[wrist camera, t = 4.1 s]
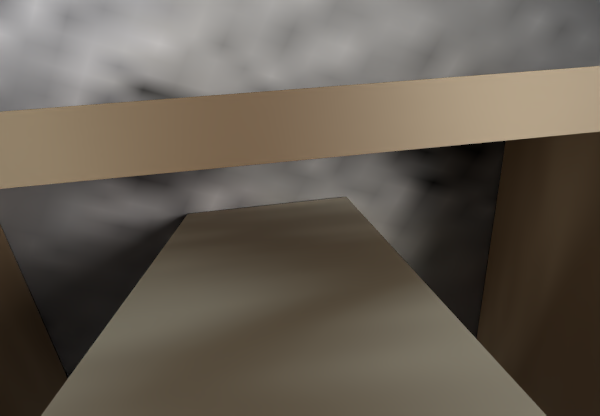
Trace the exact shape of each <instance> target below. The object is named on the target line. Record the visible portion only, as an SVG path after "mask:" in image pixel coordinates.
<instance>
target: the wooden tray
mask: <svg viewBox="0 0 600 416" xmlns="http://www.w3.org/2000/svg"><path fill="white" fill-rule="evenodd" d="M496 141H506V142H505V149H504V156H503V163H502V169H501V176H500V183H499V190H498V197H497V203H496V210H495V217H494V224H493V231H492V237H491V244H490V251H489V258H488V265H487V272H486V278H485V285H484V292H483V299H482V306H481V312H480V319H479V326H478V333H477V340H478V341H479V342H480V343H481V345H482V346H483V347H484V348H485V349H486V350H487V351H488V352H489V353H490V354H491V355H492V357H493V358H494V359H495V360H496V361H497V362H498V363H499V364H500V365H501V366H502V367H503V369H504V370H505V371H506V372H507V373H508V374H509V375H510V376H511V377H512V378H513V379H514V381H515V382H516V383H517V384H518V385H519V386H520V387H521V388H522V389H523V390H524V391H525V393H526V394H527V395H528V396H529V397H530V398H531V399H532V400H533V401H534V402H535V403H536V405H537V406H538V407H539V408H540V409H541V410H542V411H543V412H544V413H545V414H546V416H600V66H593V67H580V68H567V69H554V70H541V71H527V72H514V73H501V74H488V75H475V76H462V77H449V78H436V79H422V80H409V81H396V82H383V83H370V84H357V85H344V86H331V87H317V88H304V89H291V90H278V91H265V92H252V93H239V94H226V95H212V96H199V97H186V98H173V99H160V100H147V101H134V102H121V103H107V104H94V105H81V106H68V107H55V108H42V109H29V110H16V111H2V112H0V189H4V188H15V187H25V186H36V185H46V184H57V183H67V182H78V181H88V180H98V179H109V178H119V177H130V176H140V175H151V174H161V173H172V172H182V171H193V170H203V169H213V168H224V167H234V166H245V165H255V164H266V163H276V162H287V161H297V160H307V159H318V158H328V157H339V156H349V155H360V154H370V153H381V152H391V151H402V150H412V149H422V148H433V147H443V146H454V145H464V144H475V143H485V142H496ZM67 379H68V378H67V376H66V374H65V372H64V369H63V367H62V365H61V362H60V360H59V358H58V356H57V353H56V351H55V349H54V346H53V344H52V342H51V340H50V337H49V335H48V333H47V330H46V328H45V326H44V324H43V321H42V319H41V317H40V314H39V312H38V310H37V307H36V305H35V303H34V301H33V298H32V296H31V294H30V291H29V289H28V287H27V285H26V282H25V280H24V278H23V275H22V273H21V271H20V269H19V266H18V264H17V262H16V259H15V257H14V255H13V253H12V250H11V248H10V246H9V243H8V241H7V239H6V237H5V234H4V232H3V230H2V227H1V225H0V416H41V415H42V414H43V412H44V411H45V409H46V408H47V407H48V405H49V404H50V403H51V401H52V400H53V398H54V397H55V396H56V394H57V393H58V392H59V390H60V389H61V387H62V386H63V385H64V383H65V382H66V381H67Z"/></svg>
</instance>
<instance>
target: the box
mask: <svg viewBox="0 0 600 416" xmlns="http://www.w3.org/2000/svg"><path fill="white" fill-rule="evenodd" d="M41 416H546V414H545V413H544V412H543V411H542V410H541V409H540V408H539V407H538V406H537V405H536V403H535V402H534V401H533V400H532V399H531V398H530V397H529V396H528V395H527V394H526V393H525V391H524V390H523V389H522V388H521V387H520V386H519V385H518V384H517V383H516V382H515V381H514V379H513V378H512V377H511V376H510V375H509V374H508V373H507V372H506V371H505V370H504V369H503V367H502V366H501V365H500V364H499V363H498V362H497V361H496V360H495V359H494V358H493V357H492V355H491V354H490V353H489V352H488V351H487V350H486V349H485V348H484V347H483V346H482V345H481V343H480V342H479V341H478V340H477V339H476V338H475V337H474V336H473V335H472V334H471V332H470V331H469V330H468V329H467V328H466V327H465V326H464V325H463V324H462V323H461V322H460V320H459V319H458V318H457V317H456V316H455V315H454V314H453V313H452V312H451V311H450V310H449V308H448V307H447V306H446V305H445V304H444V303H443V302H442V301H441V300H440V299H439V298H438V296H437V295H436V294H435V293H434V292H433V291H432V290H431V289H430V288H429V287H428V286H427V284H426V283H425V282H424V281H423V280H422V279H421V278H420V277H419V276H418V275H417V274H416V272H415V271H414V270H413V269H412V268H411V267H410V266H409V265H408V264H407V263H406V262H405V260H404V259H403V258H402V257H401V256H400V255H399V254H398V253H397V252H396V251H395V249H394V248H393V247H392V246H391V245H390V244H389V243H388V242H387V241H386V240H385V239H384V237H383V236H382V235H381V234H380V233H379V232H378V231H377V230H376V229H375V228H374V227H373V225H372V224H371V223H370V222H369V221H368V220H367V219H366V218H365V217H364V216H363V215H362V213H361V212H360V211H359V210H358V209H357V208H356V207H355V206H354V205H353V204H352V203H351V201H350V200H349V199H348V198H347V197H341V198H331V199H322V200H313V201H303V202H294V203H285V204H275V205H266V206H257V207H247V208H238V209H228V210H219V211H210V212H200V213H191V214H187V216H186V217H185V218H184V220H183V221H182V223H181V224H180V225H179V227H178V228H177V229H176V231H175V232H174V234H173V235H172V236H171V238H170V239H169V240H168V242H167V243H166V245H165V246H164V247H163V249H162V250H161V251H160V253H159V254H158V256H157V257H156V258H155V260H154V261H153V262H152V264H151V265H150V267H149V268H148V269H147V271H146V272H145V273H144V275H143V276H142V278H141V279H140V280H139V282H138V283H137V284H136V286H135V287H134V289H133V290H132V291H131V293H130V294H129V295H128V297H127V298H126V300H125V301H124V302H123V304H122V305H121V306H120V308H119V309H118V311H117V312H116V313H115V315H114V316H113V317H112V319H111V320H110V322H109V323H108V324H107V326H106V327H105V328H104V330H103V331H102V332H101V334H100V335H99V337H98V338H97V339H96V341H95V342H94V343H93V345H92V346H91V348H90V349H89V350H88V352H87V353H86V354H85V356H84V357H83V359H82V360H81V361H80V363H79V364H78V365H77V367H76V368H75V370H74V371H73V372H72V374H71V375H70V376H69V378H68V379H67V381H66V382H65V383H64V385H63V386H62V387H61V389H60V390H59V392H58V393H57V394H56V396H55V397H54V398H53V400H52V401H51V403H50V404H49V405H48V407H47V408H46V409H45V411H44V412H43V414H42V415H41Z"/></svg>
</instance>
